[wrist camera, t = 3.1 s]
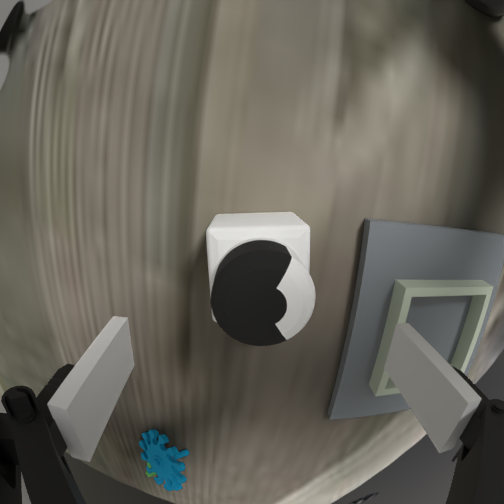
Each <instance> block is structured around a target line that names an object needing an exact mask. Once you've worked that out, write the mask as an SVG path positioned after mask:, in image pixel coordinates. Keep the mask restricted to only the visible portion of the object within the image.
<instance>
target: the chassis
mask: <svg viewBox="0 0 504 504" xmlns="http://www.w3.org/2000/svg"><path fill="white" fill-rule="evenodd" d="M503 262H504V235H503V234H499V233H492V232H485V231H477V230H469V229H461V228H453V227H445V226H436V225H427V224H418V223H408V222H398V221H388V220H377V219H366V218H365V222H364V230H363V238H362V246H361V253H360V260H359V267H358V274H357V280H356V286H355V292H354V298H353V303H352V309H351V314H350V319H349V324H348V329H347V334H346V339H345V343H344V348H343V352H342V357H341V361H340V366H339V370H338V374H337V378H336V382H335V386H334V390H333V394H332V397H331V401H330V405H329V408H328V412H327V414H328V417H329V420H337V419H347V418H356V417H364V416H372V415H379V414H385V413H391V412H397V411H403V410H408V409H411V408H410V406H409V405H408V403H407V402H406V400H405V399H404V397H403V396H402V394H401V393H400V391H399V390H398V388H397V387H396V385H395V384H394V382H393V381H392V380H391V378H390V377H389V375H388V374H387V372H386V371H385V369H384V366H385V363H386V360H387V356H388V353H389V349H390V346H391V342H392V338H393V335H394V331H395V327H396V324H402V323H409V324H410V325H411V326H412V327H413V328H414V329H415V330H416V331H417V332H418V333H419V334H420V335H421V336H422V337H423V338H424V339H425V340H426V341H427V342H428V343H429V344H430V345H431V346H432V347H433V348H434V349H435V350H436V351H437V352H438V353H439V354H440V355H441V356H442V357H443V358H444V359H445V360H446V361H447V362H448V363H449V364H450V365H451V366H454V367H455V368H457V369H459V370H461V371H462V372H463V373H464V374H465V375H466V376H467V374H468V372H469V370H470V367H471V365H472V362H473V360H474V357H475V355H476V352H477V350H478V347H479V344H480V342H481V339H482V336H483V333H484V330H485V327H486V324H487V321H488V318H489V315H490V312H491V309H492V305H493V302H494V298H495V295H496V291H497V287H498V283H499V279H500V275H501V271H502V266H503Z"/></svg>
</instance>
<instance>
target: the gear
mask: <svg viewBox="0 0 504 504" xmlns="http://www.w3.org/2000/svg"><path fill="white" fill-rule="evenodd" d="M158 436H159V437H158ZM142 437H143V439H144V440H141V441H140V442H139V445H140V447H141V448H142V449H143V450H144V451H145V452H142V453H141V458H142V460H145V461H147V466H146V469H147V471H146V475H147V476H148V477H151V476H154V475H156V473H157V475H158V477H155V478H154V480H155V481H156V483H157V484H158V485H160V484H163V483H164V480H165V482H166V483H165V484H164V488H165V489H166V490H168V491H171V490H175V491H177V490H180V489H182V485H181V484H182V483H184V482H186V480H187V479H186V477H185V476H184V475H182V474H181V473H180V472H181V471H184V470H185V464H184V463H183V462H179V461H177V460H176V459H179V458H182V457H185V456H187V455H189V451H188V450H187V449H185V450H182V451H179V452H178V450H177V448H176V447H175V446H174V447H171V448H168V449H167V448H166V447H165V446H164V444H165V443H168V442H169V439H168V437H167V436H166V435H165V434H163V435H159V433H158V431H157V430H155V429H152V430H149V432H145V433H142ZM157 437H158V441H157Z"/></svg>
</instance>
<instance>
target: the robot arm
mask: <svg viewBox="0 0 504 504" xmlns="http://www.w3.org/2000/svg"><path fill="white" fill-rule="evenodd" d="M466 1H467V2H468V3H470V4H471V5H472V6H474V7H475V8H476V9H478V10H479V11H481V12H483V13H485V14H487V15H489V16H493V17H499V16H502V15H504V0H466ZM133 367H134V359H133V352H132V345H131V338H130V331H129V322H128V318H127V317H117V316H113V317H112V318H111V320H110V321H109V322H108V323H107V325H106V326H105V327H104V329H103V330H102V331H101V332H100V334H99V335H98V336H97V337H96V339H95V340H94V341H93V343H92V344H91V345H90V346H89V348H88V349H87V350H86V352H85V353H84V354H83V356H82V357H81V358H80V360H79V361H78V362H77V364H76V365H71V364H66V365H65V366H63V367H62V368H60V369H58V371H57V372H56V373H55V374H54V376H53V377H52V379H50V381H49V382H48V385H46V386H45V387H44V389H43V390H42V391H41V392H40V394H39V395H38V396H37V398H36V396H35V394H34V392H33V390H32V389H30V388H29V387H26V386H15V387H12V388H10V389H8V390H7V391H5V393H4V394H3V396H2V400H1V402H2V404H3V406H4V408H5V410H6V412H7V413H0V504H22V492H21V472H22V475H23V478H24V482H25V486H26V489H27V492H28V495H29V498H30V501H31V504H86V502H85V500H84V498H83V496H82V494H81V492H80V490H79V488H78V486H77V484H76V482H75V480H74V477H73V475H72V473H71V471H70V468H69V466H68V464H67V461H66V459H65V457H64V455H63V454H64V452H65V451H66V449H68V450H69V452H70V454H71V456H72V457H74V458H77V459H80V460H84V461H87V462H90V461H91V458H92V456H93V454H94V452H95V449H96V447H97V445H98V442H99V440H100V438H101V436H102V433H103V431H104V429H105V427H106V424H107V422H108V420H109V418H110V416H111V414H112V411H113V409H114V407H115V405H116V403H117V401H118V398H119V396H120V394H121V392H122V390H123V388H124V386H125V384H126V382H127V380H128V378H129V375H130V373H131V371H132V369H133ZM384 369H385V371H386V372H387V374H388V375H389V377H390V378H391V380H392V381H393V382H394V384H395V385H396V387H397V388H398V390H399V391H400V393H401V394H402V396H403V397H404V399H405V400H406V402H407V403H408V405H409V406H410V408H411V410H412V411H413V413H414V414H415V416H416V417H417V419H418V420H419V422H420V423H421V425H422V426H423V428H424V430H425V431H426V433H427V434H428V436H429V437H430V439H431V441H432V442H433V444H434V445H435V447H436V449H437V450H438V452H439V453H441V452H444V451H447V450H450V449H453V448H454V446H455V445H456V443H457V442H458V440H459V438H460V440H461V441H462V442H463V444H462V446H461V447H460V449H459V450H458V452H457V453H456V455H455V456H454V458H453V459H452V461H455V459H456V458H457V457H458V459H457V463H456V468H455V472H454V476H453V480H452V484H451V488H450V491H449V495H448V498H447V501H446V504H504V401H501V400H499V399H492V400H489V399H488V398H487V397H486V396H485V395H484V394H483V393H482V392H481V391H480V390H479V389H478V388H477V387H476V385H475V384H473V382H472V381H471V380H470V379H468V377H467V376H466V375H465V374H464V373H463V372H462V371H461V370H459V369H457V368H455V367H454V366H451V365H450V364H449V363H448V362H447V361H446V360H445V359H444V358H443V357H442V356H441V355H440V354H439V353H438V352H437V351H436V350H435V349H434V348H433V347H432V346H431V345H430V344H429V343H428V342H427V341H426V340H425V339H424V338H423V337H422V336H421V335H420V334H419V333H418V332H417V331H416V330H415V329H414V328H413V327H412V326H411V325H410V324H409V323H402V324H396V327H395V331H394V335H393V338H392V342H391V346H390V349H389V353H388V356H387V360H386V363H385V366H384Z"/></svg>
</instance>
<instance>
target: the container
mask: <svg viewBox="0 0 504 504" xmlns="http://www.w3.org/2000/svg"><path fill="white" fill-rule="evenodd" d="M206 242H207V257H208V271H209V284H210V297H211V309H212V318H213V321H215V322H217V323H218V324H219V326H220V327H221V328H222V329H223V330H224V331H225V332H226V333H227V334H228V335H229V336H231V337H232V338H234V339H236V340H238V341H240V342H242V343H245V344H249V345H255V346H268V345H274V344H278V343H281V342H283V341H286V340H288V339H290V338H291V337H293V336H294V335H296V334H297V333H298V332H299V331H300V330H301V329H302V328H303V327H304V326H305V325H306V323H307V322H308V320H309V319H310V317H311V315H312V312H313V309H314V305H315V288H314V283H313V281H312V278H311V276H310V275H309V265H310V227H309V226H308V225H307V224H306V223H305V222H304V221H302V220H301V219H300V218H299V217H298V216H297V215H295V214H294V213H293V212H267V213H236V214H217V215H216V216H215V217H214V218H213V220H212V222H211V223H210V225H209V227H208V228H207V230H206Z"/></svg>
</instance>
